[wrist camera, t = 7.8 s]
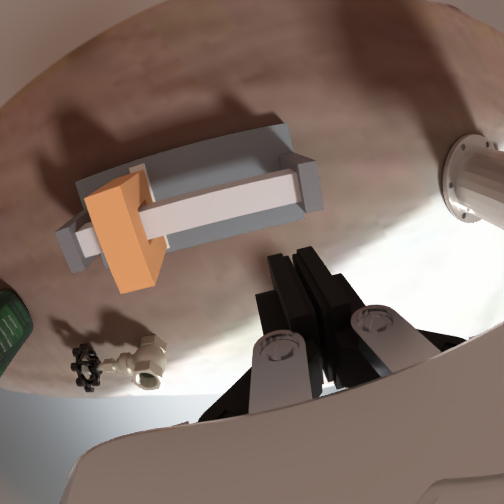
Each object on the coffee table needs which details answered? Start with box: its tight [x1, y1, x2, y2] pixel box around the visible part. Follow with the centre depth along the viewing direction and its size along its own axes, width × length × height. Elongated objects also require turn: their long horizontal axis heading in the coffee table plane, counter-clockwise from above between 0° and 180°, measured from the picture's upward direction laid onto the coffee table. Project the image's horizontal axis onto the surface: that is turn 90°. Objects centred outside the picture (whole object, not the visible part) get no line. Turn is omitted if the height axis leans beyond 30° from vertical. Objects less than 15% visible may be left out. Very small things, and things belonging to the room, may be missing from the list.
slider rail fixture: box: [55, 123, 324, 274], centre depth 27 cm, size 22×10×8 cm, turn 102°
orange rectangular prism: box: [84, 169, 167, 294], centre depth 25 cm, size 3×8×8 cm, turn 12°
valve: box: [71, 335, 167, 392], centre depth 35 cm, size 7×7×12 cm
